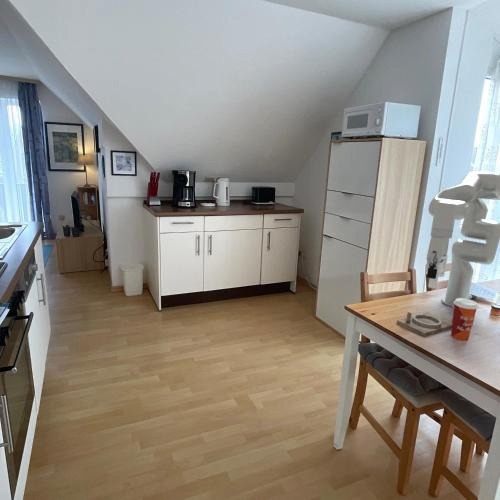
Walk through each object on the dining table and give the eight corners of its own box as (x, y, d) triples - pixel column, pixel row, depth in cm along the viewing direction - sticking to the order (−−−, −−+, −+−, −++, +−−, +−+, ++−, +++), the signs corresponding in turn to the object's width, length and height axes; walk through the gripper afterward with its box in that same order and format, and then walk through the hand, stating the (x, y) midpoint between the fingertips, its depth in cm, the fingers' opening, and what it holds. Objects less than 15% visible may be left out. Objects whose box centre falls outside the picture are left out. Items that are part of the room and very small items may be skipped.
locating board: (427, 315, 162) (429, 303, 161) (455, 327, 151) (457, 315, 150) (396, 323, 153) (398, 311, 151) (424, 336, 142) (426, 323, 140)
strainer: (439, 285, 150) (445, 250, 147) (444, 290, 144) (450, 254, 140) (420, 283, 152) (426, 248, 148) (425, 289, 145) (431, 252, 141)
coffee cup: (459, 343, 137) (466, 306, 134) (442, 333, 145) (449, 298, 141) (476, 340, 140) (484, 304, 136) (459, 331, 147) (466, 296, 144)
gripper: (438, 229, 151) (431, 269, 155) (423, 234, 139) (417, 278, 143) (458, 231, 146) (450, 274, 150) (445, 237, 134) (437, 283, 138)
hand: (434, 275), depth 147 cm, fingers closed on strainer, 6 cm apart
